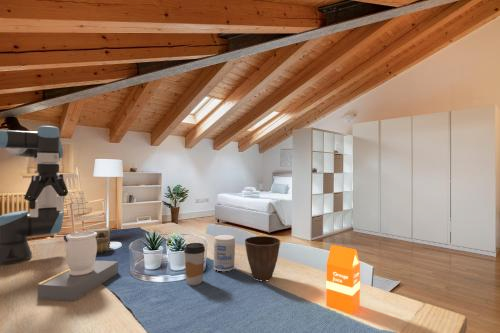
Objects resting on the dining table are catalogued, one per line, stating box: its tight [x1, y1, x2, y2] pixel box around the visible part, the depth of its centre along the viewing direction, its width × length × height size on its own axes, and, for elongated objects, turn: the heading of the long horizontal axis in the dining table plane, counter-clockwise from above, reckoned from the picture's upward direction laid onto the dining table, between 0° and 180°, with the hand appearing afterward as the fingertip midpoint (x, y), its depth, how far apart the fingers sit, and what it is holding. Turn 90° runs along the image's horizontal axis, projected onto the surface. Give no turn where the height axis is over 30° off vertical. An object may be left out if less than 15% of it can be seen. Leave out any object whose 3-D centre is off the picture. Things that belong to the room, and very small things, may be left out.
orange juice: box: [325, 244, 361, 315], centre depth 95 cm, size 8×9×20 cm
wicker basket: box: [85, 226, 112, 255], centre depth 154 cm, size 15×14×11 cm
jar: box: [65, 230, 98, 276], centre depth 110 cm, size 11×10×15 cm
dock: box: [37, 259, 119, 302], centre depth 110 cm, size 26×14×5 cm, turn 174°
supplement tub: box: [213, 234, 236, 272], centre depth 129 cm, size 10×10×15 cm
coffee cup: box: [183, 242, 206, 286], centre depth 114 cm, size 8×8×15 cm
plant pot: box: [244, 235, 281, 282], centre depth 119 cm, size 15×15×16 cm
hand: (47, 213), depth 118 cm, fingers open, 13 cm apart
